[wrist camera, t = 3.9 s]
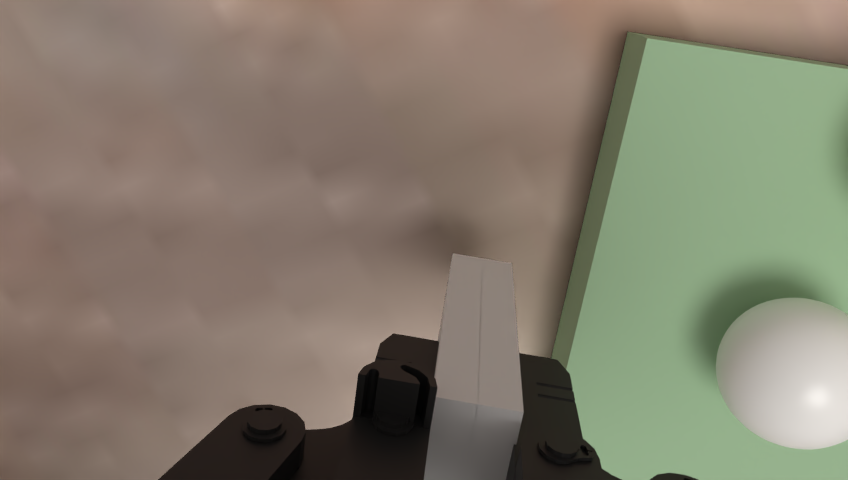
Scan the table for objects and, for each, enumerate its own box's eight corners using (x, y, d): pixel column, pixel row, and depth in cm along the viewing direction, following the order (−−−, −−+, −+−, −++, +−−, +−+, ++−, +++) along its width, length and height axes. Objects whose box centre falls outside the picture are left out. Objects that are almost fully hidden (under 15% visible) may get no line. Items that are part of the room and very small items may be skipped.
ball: (682, 384, 20) (723, 467, 16) (720, 264, 18) (772, 327, 15) (814, 406, 19) (882, 495, 16) (860, 287, 18) (945, 356, 15)
